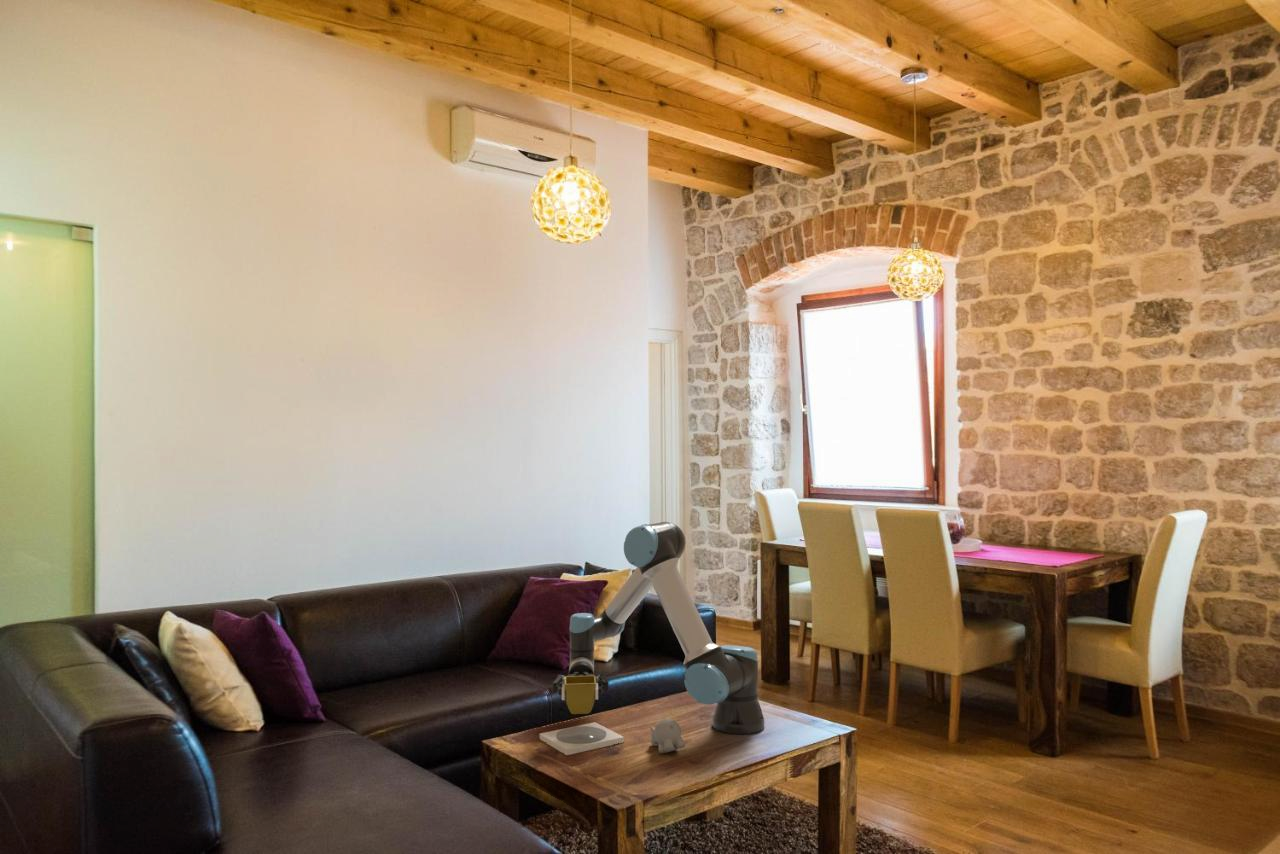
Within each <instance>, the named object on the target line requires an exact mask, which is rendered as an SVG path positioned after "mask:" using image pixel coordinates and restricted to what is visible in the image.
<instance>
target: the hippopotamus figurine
mask: <svg viewBox="0 0 1280 854" xmlns="http://www.w3.org/2000/svg"><path fill="white" fill-rule="evenodd" d="M650 732H651V733H650V736H651V737H650V744H651V745H652V746H653V747H658V752H659V754H667V753H669V752H670V753H671V752H675V751H678V750H680V749H683V748H685V745H686V744H685V741H684V739H683V737H682V729H681V726H680V724H679V723H678V722H677V721H676V720H674V719H672V718H663V719H661V720H659V721H658V722H657V723H656V725H655V727H653V726H650Z"/></svg>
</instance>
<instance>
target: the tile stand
mask: <svg viewBox="0 0 1280 854" xmlns="http://www.w3.org/2000/svg"><path fill="white" fill-rule="evenodd" d="M539 740H541V741H542V742H544V743H545V742H546V743H545V744H547V745H549V746H550V747H551V748H553V749H555V750H557V751H558V752H560V753H562V754H563V753H564V754H563V755H566V756H569V755H574V754H578V753H583V752H586V751H591V750H596V749H600V748H605V747H611V746H615V745H619V744H624V743H625V736H623V735H621V734H619V733H617V732H615V731H614V730H611V729H609V728H607V727H605V726H604V725H601V724H599V723H597V722H595V721H594V722H590V723H584V724H580V725H575V726H571V727H566V728H565V727H564V728H561V729H556V730H551V731H546V732H541V733H539ZM623 742H624V743H623ZM618 743H619V744H618ZM614 744H615V745H614Z"/></svg>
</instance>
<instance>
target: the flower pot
mask: <svg viewBox="0 0 1280 854" xmlns="http://www.w3.org/2000/svg"><path fill="white" fill-rule="evenodd" d="M564 677H565V702H566V706H567V708H568V710H569V712H570V714H572V715H580V714H581V715H582V714H585V715H587V714H590V713H591V711H592V709H593V707H594V704H595V701H596V700H595V689H596V679H595V677H596V675H595V676H567V675H564Z"/></svg>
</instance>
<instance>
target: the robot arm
mask: <svg viewBox="0 0 1280 854" xmlns="http://www.w3.org/2000/svg"><path fill="white" fill-rule="evenodd" d="M677 525H678V524H677ZM677 525H676V524H675V523H672V522H670V521H661V522H656V523H649V524H647V523H645V524H641V525H638V526H635V527H633V528H631V530H630V531H628V532H627V534H626V536H625V539H624V542H623V554H624V556H625V559H626V561H627V562H628V563H629V564H630V565H632V566H634V567H636V568H635V569H634V570H633V572H632V573H631V574H630V576H629V577H628V578H627V579H626V581H625V582H624V584H623V585H622V587H620V588H619V590H618V592H617V593H616V594H615V595H614V597H613V598H612V599H611V601H610V602H609V603H608V604H607V606H606V607H605V609H604V610H603V611H602V612H601V614H599V615H595V616H594V615H593V614H592V613H588V612H581V613H580V612H579V613H574V614H572V615H570V618H569V629H568V630H569V668H568V674H567V675H566V676H595V679H596V689H595V701H596V700H598V701H599V694H600V695H602V694H603V691H604V692H606V693H607V692H609V691H610V690H609V681H608V679H607V678H606V677H605V674H604V673H601V674H598V675H597V676H596V675H595V669H594V668H595V642H598V641H602V640H605V639H610V638H614V637H616V636H618V635H620V634H621V633H622V632H624V629H625V625H626V621H627V619H628V618H629V616H631V615H632V613H633V612H634V610H635V609H637V607H638V605H640V603H641V602H642V600H643V599H644V598H645V597H646V595H647V594H648V593H649V592H650V590H651V589H652V588H653V589H654V591H655V593H656V596H657V598H658V600H659V601H660V604H661V606H662V608H663V610H664V613H665V615H666V617H667V619H668V621H669V623H670V625H671V628H672V631H673V633H674V634H675V636H676V639H677V640H678V643H679V644H680V647H681V649H682V652H683V653H684V656H685V657H684V661H683V666H684V668H685V670H686V672H685V674H684V676H685V678H684V680H683V682H684V686H685V688H686V692H687V694H689V696H690V697H691V698H692V699H693V700H694V701H696V702H697V703H700V704H702V705H706V706H707V705H708V706H710V705H714V704H716V705H715V708H714V714H713V715H712V719H711V720H712V722H711V723H712V728H714V729H715V730H716V731H719V732H722V733H727V734H731V735H732V734H734V735H744V734H746V735H747V734H754V733H758V732H760V731H762V730H764V728H765V717H764V713H763V712H762V708H761V704H760V702H759V673H758V672H759V670H758V669H759V667H758V666H759V665H758V663H759V660H758V652H757V650H756V649H754V648H753V647H750V646H742V645H731V644H729V645H720V644H719V645H718V644H716V643H714V642H713V641H712V638H711V636H710V634H709V631H708V630H707V627H706V625H705V624H704V621H703V619H702V617H701V615H700V613H699V611H698V609H697V607H696V605H695V602H694V600H693V598H692V596H691V594H690V592H689V590H688V587H687V586H686V584H685V582H684V580H683V578H682V575H681V573H680V571H679V569H678V562H679V559H680V558H681V557H682V555H683V553H684V551H685V548H686V537H685V536H686V535H685V533H684V532H683V530H682V529H681V528H680V527H679V526H677ZM551 688H552V691H551V693H556V692H557V694H558V696H561V701H566V694H565V675H562V674H557V677H556V679H555V680H553V682H552V687H551Z"/></svg>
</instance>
